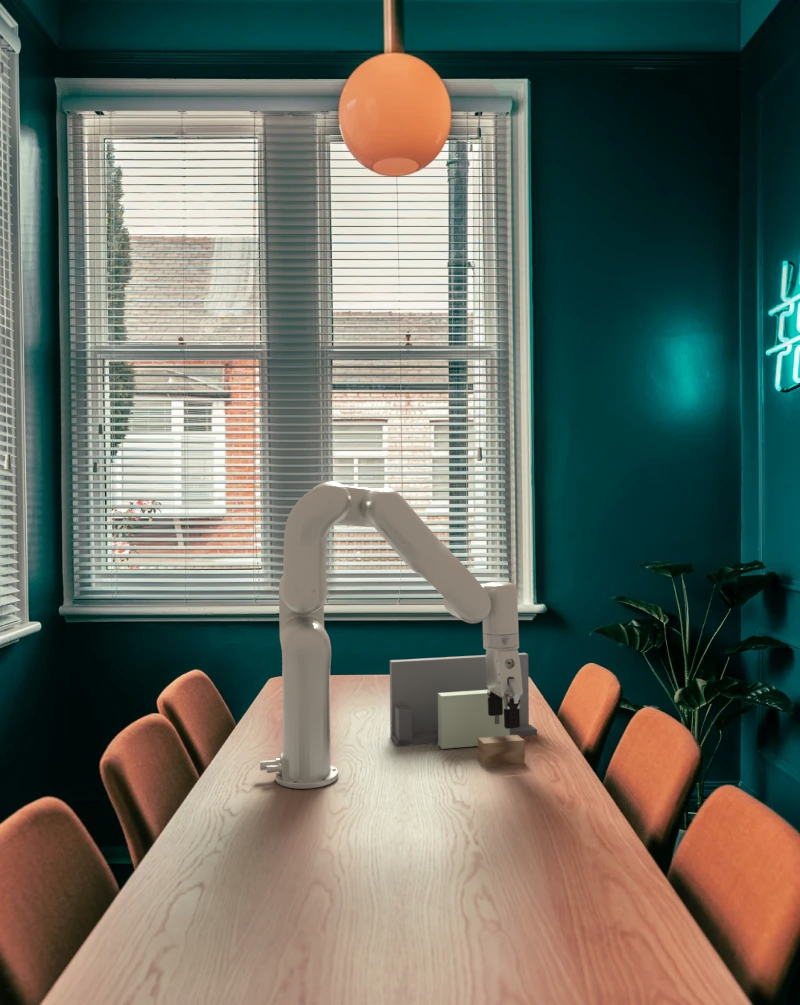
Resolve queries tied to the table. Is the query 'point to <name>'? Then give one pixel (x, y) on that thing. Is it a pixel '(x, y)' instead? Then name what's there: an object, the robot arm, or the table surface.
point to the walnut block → (501, 750)
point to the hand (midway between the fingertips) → (503, 721)
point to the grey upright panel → (430, 676)
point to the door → (467, 719)
